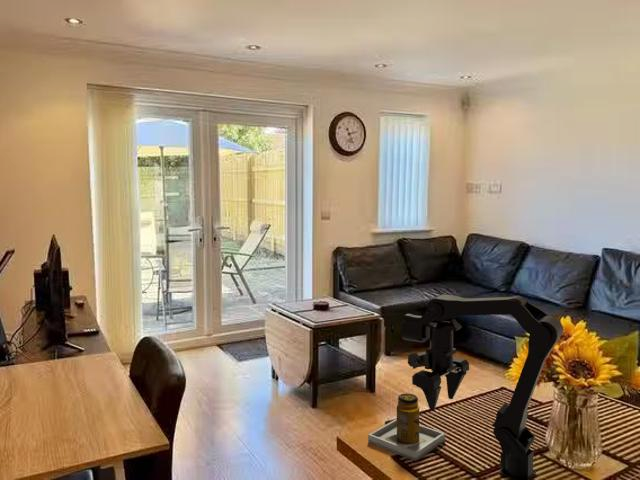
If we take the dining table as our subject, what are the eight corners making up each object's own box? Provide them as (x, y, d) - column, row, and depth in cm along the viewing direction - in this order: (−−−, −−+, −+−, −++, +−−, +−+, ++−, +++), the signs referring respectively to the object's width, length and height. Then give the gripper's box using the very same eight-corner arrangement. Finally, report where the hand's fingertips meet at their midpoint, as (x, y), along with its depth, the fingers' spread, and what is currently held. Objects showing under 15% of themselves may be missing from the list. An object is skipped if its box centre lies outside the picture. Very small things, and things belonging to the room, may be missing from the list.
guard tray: (445, 441, 145) (445, 433, 145) (415, 461, 135) (415, 453, 135) (398, 424, 156) (398, 417, 155) (368, 442, 146) (368, 434, 145)
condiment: (426, 440, 144) (426, 397, 143) (402, 450, 139) (402, 405, 138) (407, 430, 150) (407, 389, 149) (384, 439, 145) (383, 396, 144)
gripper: (433, 331, 149) (433, 386, 150) (393, 347, 135) (394, 407, 137) (470, 338, 141) (470, 396, 143) (432, 356, 127) (432, 419, 129)
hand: (441, 404), depth 138 cm, fingers open, 9 cm apart
